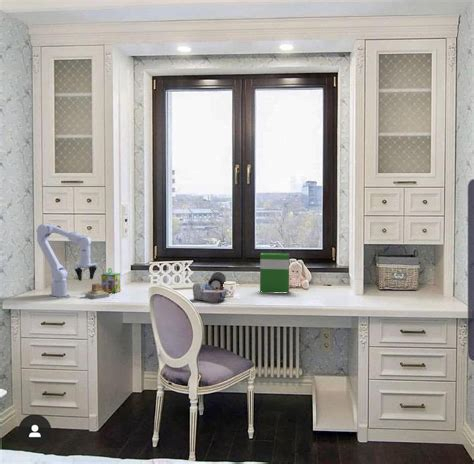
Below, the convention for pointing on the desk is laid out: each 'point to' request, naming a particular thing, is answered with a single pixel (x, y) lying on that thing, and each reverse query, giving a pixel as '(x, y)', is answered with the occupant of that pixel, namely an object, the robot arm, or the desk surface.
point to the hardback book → (274, 272)
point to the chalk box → (110, 282)
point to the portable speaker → (217, 280)
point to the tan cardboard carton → (97, 289)
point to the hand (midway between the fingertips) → (85, 279)
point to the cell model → (208, 292)
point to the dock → (96, 295)
